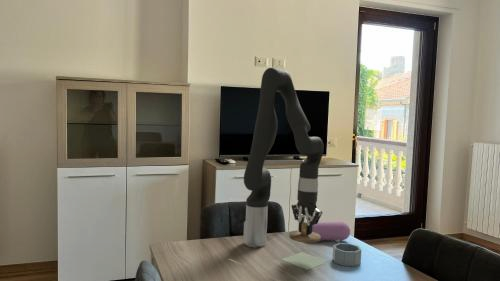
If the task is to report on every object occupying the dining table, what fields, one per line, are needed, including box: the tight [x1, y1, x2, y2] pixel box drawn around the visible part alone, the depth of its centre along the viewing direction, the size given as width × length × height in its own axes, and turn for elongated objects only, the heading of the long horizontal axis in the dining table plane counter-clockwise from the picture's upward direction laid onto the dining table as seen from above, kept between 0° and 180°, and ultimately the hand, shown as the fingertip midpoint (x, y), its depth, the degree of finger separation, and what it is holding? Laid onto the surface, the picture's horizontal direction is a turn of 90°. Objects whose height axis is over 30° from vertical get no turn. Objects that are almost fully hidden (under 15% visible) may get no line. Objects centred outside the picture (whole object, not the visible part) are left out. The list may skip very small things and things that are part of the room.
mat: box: [280, 251, 329, 270], centre depth 158 cm, size 13×13×1 cm
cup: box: [332, 242, 362, 267], centre depth 158 cm, size 10×10×6 cm
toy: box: [312, 221, 351, 243], centre depth 185 cm, size 8×9×20 cm
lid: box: [288, 220, 321, 244], centre depth 157 cm, size 12×12×6 cm
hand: (305, 233), depth 157 cm, fingers closed on lid, 3 cm apart
